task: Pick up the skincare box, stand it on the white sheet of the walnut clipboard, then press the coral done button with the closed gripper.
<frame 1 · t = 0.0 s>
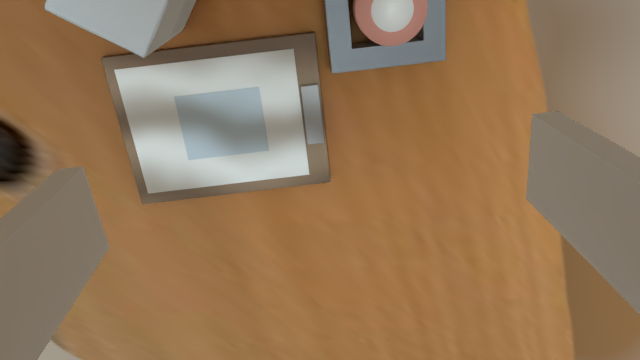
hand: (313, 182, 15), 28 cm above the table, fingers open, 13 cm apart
button base: (380, 4, 39), on the table
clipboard: (224, 121, 43), on the table
done button: (388, 8, 36), point 4 cm above the table, slide at 0.0 cm
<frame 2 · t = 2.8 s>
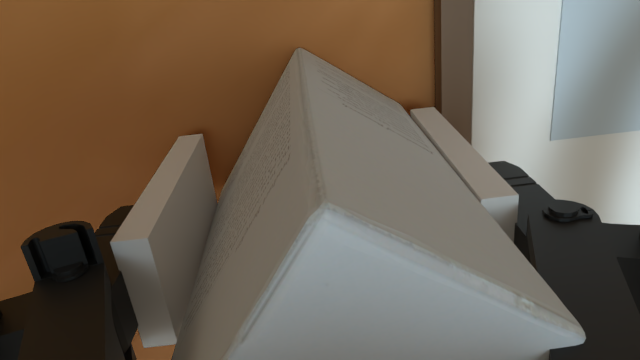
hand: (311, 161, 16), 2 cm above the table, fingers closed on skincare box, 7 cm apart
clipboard: (629, 22, 16), on the table
skincare box: (311, 143, 18), on the table, touching gripper
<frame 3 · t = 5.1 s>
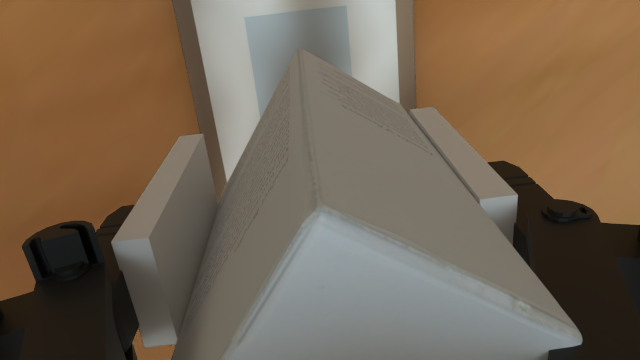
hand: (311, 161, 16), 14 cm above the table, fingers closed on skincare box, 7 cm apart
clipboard: (302, 72, 29), on the table
skincare box: (312, 144, 18), point 13 cm above the table, touching gripper
when the fingers open (4 cm above the table, at t = 7.2 s): skincare box drops 1 cm, resting on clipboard.
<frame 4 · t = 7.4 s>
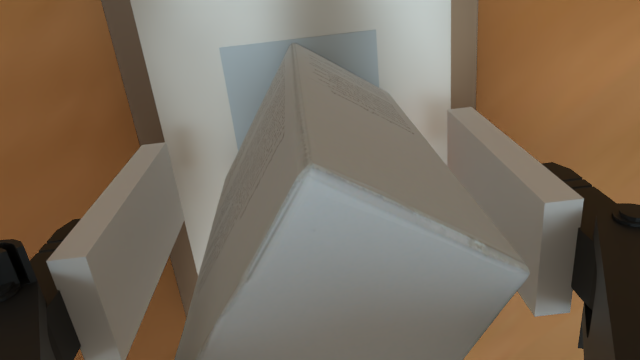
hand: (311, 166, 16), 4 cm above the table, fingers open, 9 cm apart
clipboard: (308, 124, 20), on the table
skincare box: (307, 132, 19), point 1 cm above the table, touching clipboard
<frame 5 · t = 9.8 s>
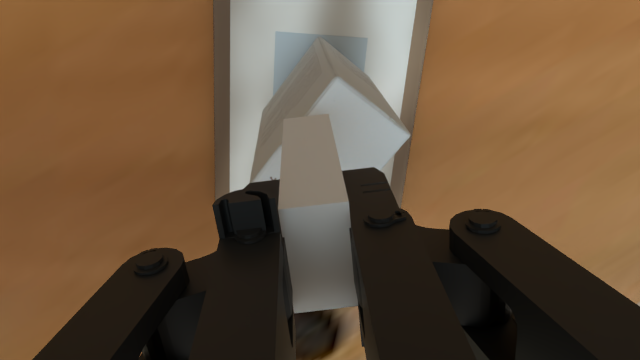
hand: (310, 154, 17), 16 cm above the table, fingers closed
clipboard: (317, 88, 32), on the table
skincare box: (316, 91, 32), point 1 cm above the table, touching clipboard
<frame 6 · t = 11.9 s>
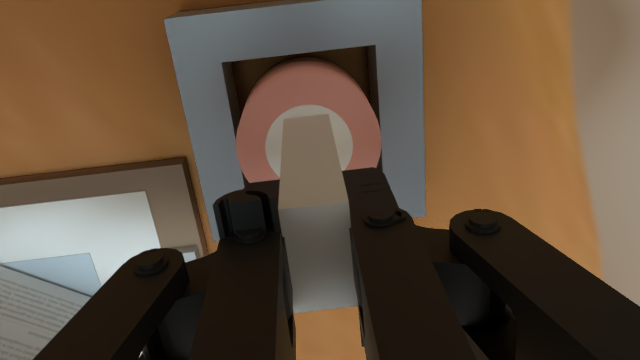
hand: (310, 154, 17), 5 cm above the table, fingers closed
button base: (305, 109, 21), on the table
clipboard: (42, 299, 24), on the table
done button: (307, 133, 18), point 3 cm above the table, slide at 0.5 cm, touching gripper
skincare box: (33, 308, 24), point 1 cm above the table, touching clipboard
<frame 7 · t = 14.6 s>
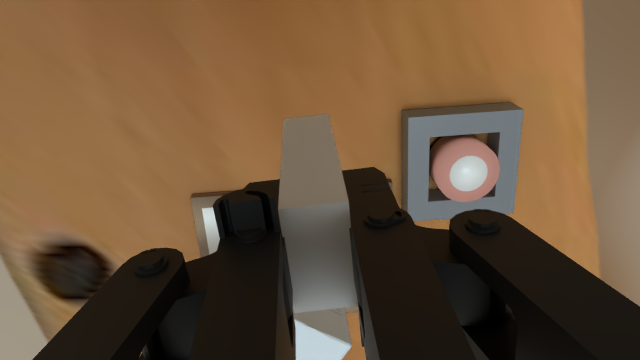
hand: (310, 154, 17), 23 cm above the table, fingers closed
button base: (454, 157, 42), on the table
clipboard: (297, 252, 45), on the table
done button: (462, 166, 40), point 2 cm above the table, slide at 1.4 cm
skincare box: (297, 256, 44), point 1 cm above the table, touching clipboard
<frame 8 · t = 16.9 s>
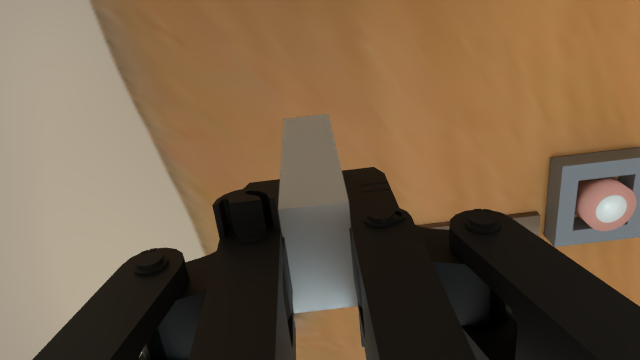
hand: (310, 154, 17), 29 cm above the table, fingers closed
button base: (590, 192, 51), on the table
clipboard: (455, 272, 55), on the table
done button: (602, 202, 49), point 2 cm above the table, slide at 1.4 cm
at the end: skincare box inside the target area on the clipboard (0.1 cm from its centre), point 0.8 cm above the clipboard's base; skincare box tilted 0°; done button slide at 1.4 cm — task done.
